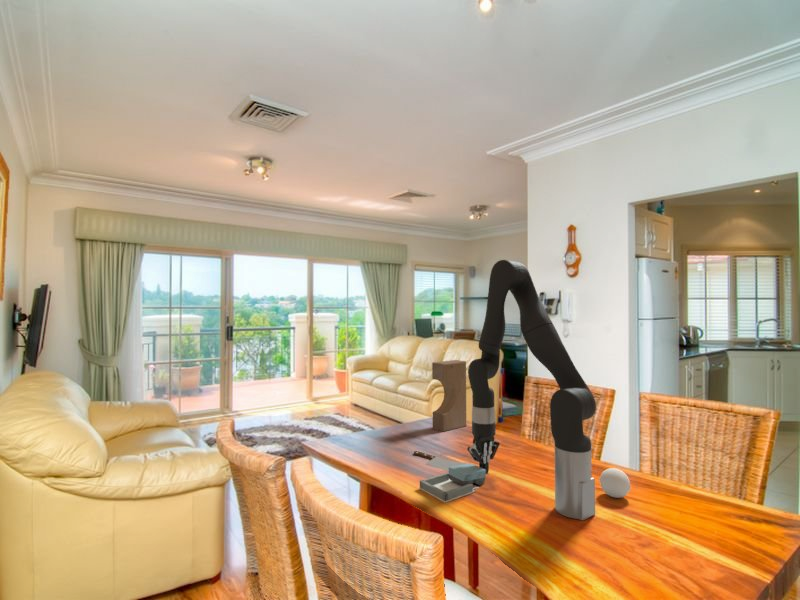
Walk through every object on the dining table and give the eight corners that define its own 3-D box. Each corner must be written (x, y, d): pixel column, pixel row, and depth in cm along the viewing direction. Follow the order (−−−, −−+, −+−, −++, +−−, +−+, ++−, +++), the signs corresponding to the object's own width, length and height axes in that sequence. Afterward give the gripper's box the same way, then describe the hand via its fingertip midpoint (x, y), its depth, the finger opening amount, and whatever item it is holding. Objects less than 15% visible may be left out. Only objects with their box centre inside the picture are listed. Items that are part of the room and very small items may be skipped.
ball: (594, 491, 128) (594, 464, 128) (619, 490, 129) (619, 463, 129) (609, 503, 120) (609, 474, 120) (636, 502, 121) (636, 473, 121)
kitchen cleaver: (402, 457, 156) (419, 448, 164) (402, 460, 156) (419, 451, 164) (458, 475, 140) (474, 465, 148) (458, 478, 140) (474, 468, 148)
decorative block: (455, 422, 205) (454, 359, 205) (466, 426, 199) (466, 361, 199) (432, 428, 195) (431, 362, 196) (443, 432, 189) (443, 364, 190)
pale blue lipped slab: (486, 484, 134) (487, 469, 135) (463, 489, 129) (464, 474, 129) (470, 476, 140) (471, 463, 140) (448, 481, 134) (448, 467, 135)
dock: (482, 489, 130) (482, 481, 130) (445, 503, 121) (445, 494, 121) (456, 477, 139) (456, 469, 139) (419, 489, 130) (419, 480, 130)
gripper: (477, 425, 132) (477, 482, 132) (506, 419, 140) (506, 472, 139) (460, 420, 138) (461, 474, 138) (489, 414, 146) (489, 465, 145)
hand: (484, 473), depth 139 cm, fingers closed
